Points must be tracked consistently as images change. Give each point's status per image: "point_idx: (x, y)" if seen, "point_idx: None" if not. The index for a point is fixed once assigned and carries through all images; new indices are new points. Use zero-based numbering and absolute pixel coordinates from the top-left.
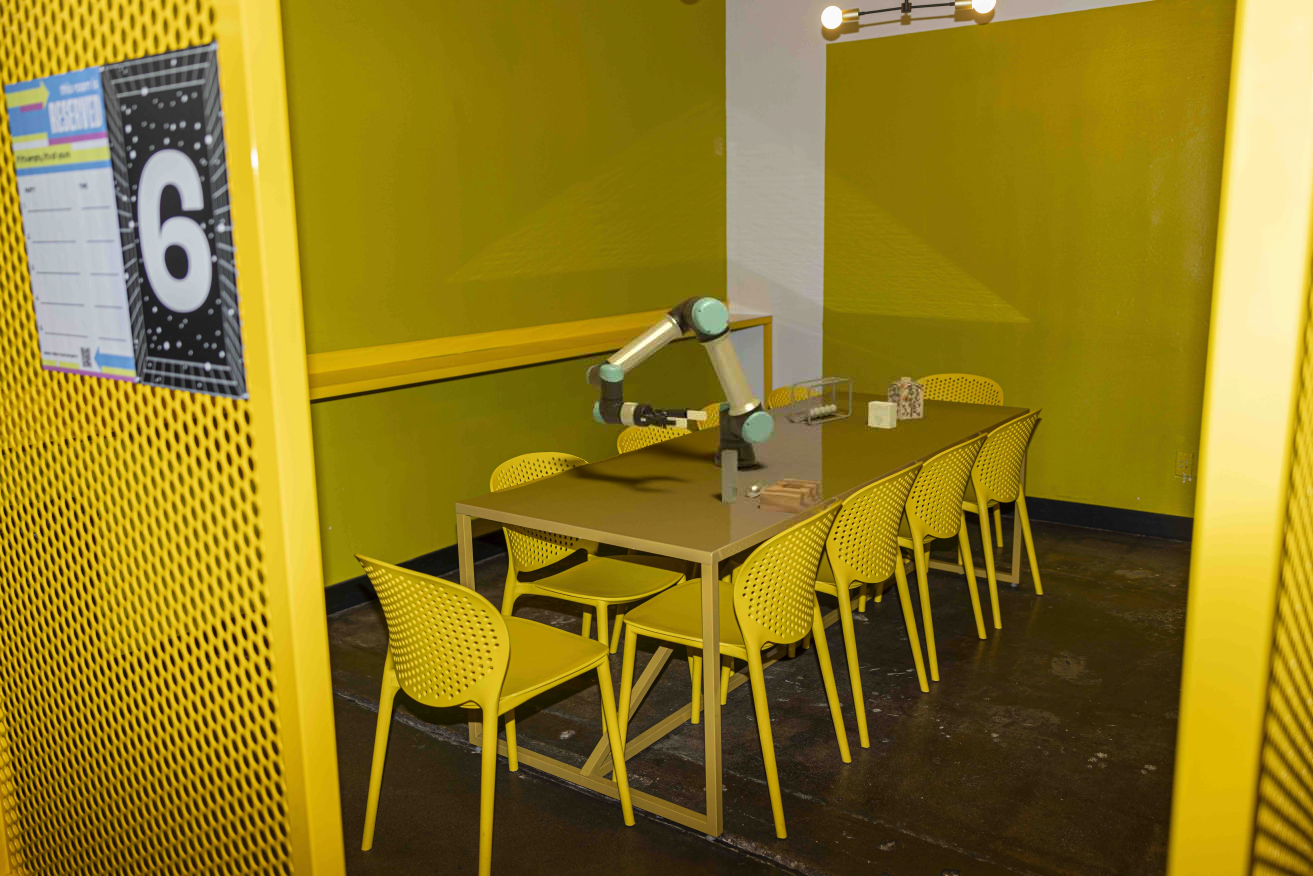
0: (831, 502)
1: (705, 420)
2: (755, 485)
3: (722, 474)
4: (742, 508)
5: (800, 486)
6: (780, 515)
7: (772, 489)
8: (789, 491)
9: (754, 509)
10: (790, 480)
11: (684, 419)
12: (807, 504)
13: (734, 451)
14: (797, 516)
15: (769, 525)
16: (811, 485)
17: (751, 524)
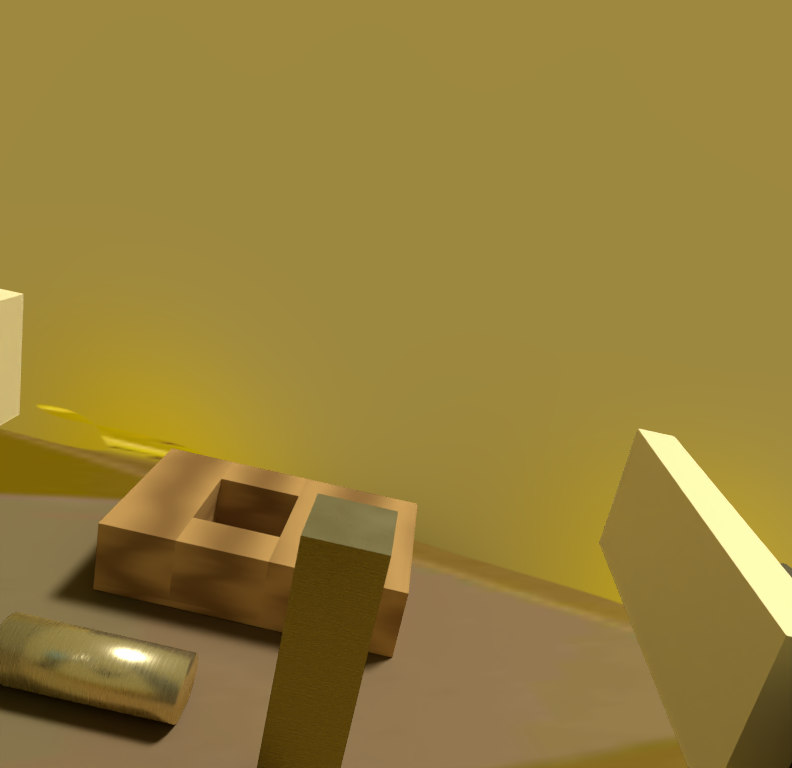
0: None
1: (15, 413)
2: (142, 645)
3: (357, 695)
4: (413, 724)
5: (212, 498)
6: (451, 596)
7: None
8: None
9: (408, 677)
10: (146, 510)
11: (679, 449)
12: None
13: (347, 503)
14: (438, 558)
15: (587, 619)
16: (231, 469)
17: (618, 668)
